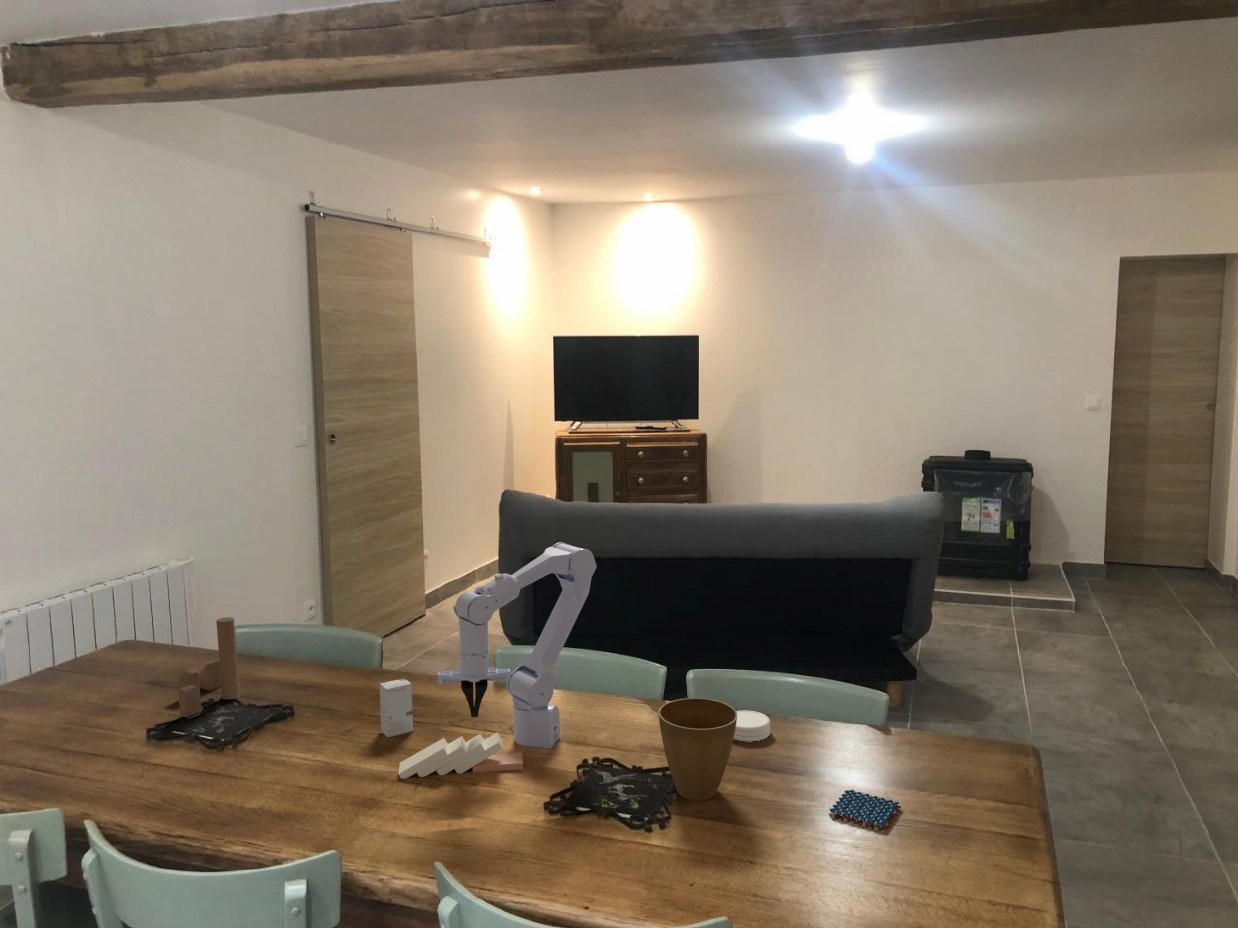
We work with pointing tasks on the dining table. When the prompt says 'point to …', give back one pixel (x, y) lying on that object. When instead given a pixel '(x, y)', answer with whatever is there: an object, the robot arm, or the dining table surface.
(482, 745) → the domino
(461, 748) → the domino
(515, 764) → the end domino
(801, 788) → the dining table surface
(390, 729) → the skincare box
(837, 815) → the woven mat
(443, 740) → the domino
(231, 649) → the wooden blocks
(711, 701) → the plant pot
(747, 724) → the white round disc
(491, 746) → the domino
